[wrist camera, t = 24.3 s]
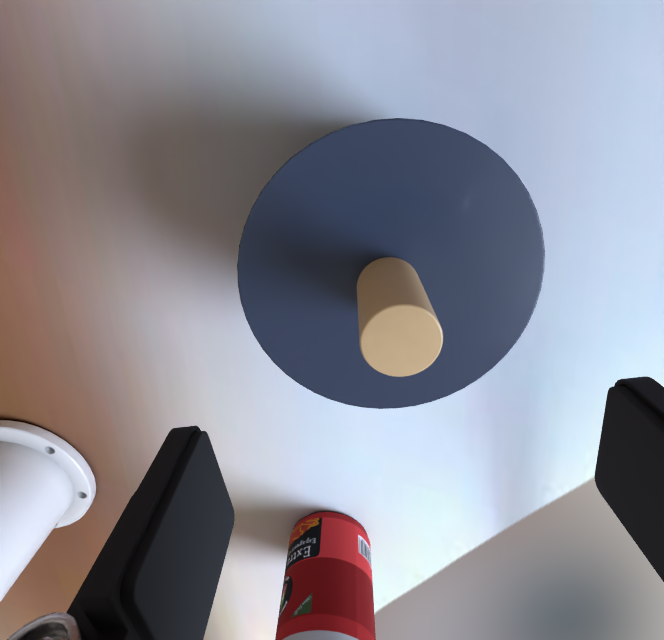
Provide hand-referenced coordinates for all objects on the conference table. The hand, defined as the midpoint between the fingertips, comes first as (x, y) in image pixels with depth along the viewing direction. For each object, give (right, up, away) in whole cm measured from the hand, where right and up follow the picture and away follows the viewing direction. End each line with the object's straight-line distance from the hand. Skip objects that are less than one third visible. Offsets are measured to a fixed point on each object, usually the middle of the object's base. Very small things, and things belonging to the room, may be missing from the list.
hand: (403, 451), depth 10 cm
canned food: (-2, -18, +31) cm, 36 cm away
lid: (+1, +5, +9) cm, 11 cm away
